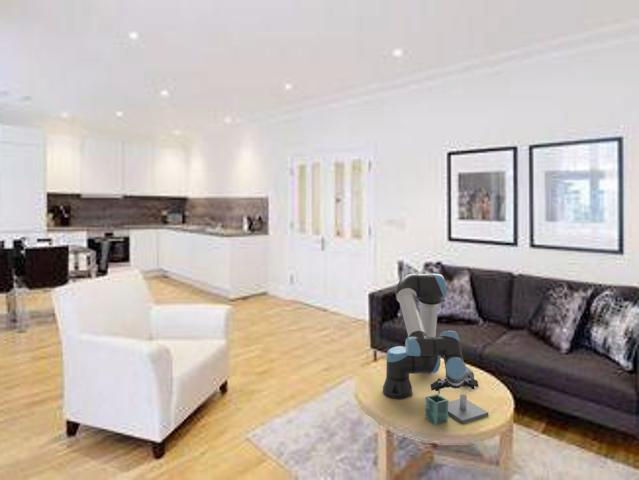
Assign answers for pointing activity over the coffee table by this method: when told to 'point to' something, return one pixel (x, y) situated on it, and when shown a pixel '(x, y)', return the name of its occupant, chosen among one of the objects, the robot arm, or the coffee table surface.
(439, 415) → the sleeve
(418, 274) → the robot arm
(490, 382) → the coffee table surface
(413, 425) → the coffee table surface
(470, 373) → the grey rounded piece
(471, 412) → the hub plate
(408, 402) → the coffee table surface
